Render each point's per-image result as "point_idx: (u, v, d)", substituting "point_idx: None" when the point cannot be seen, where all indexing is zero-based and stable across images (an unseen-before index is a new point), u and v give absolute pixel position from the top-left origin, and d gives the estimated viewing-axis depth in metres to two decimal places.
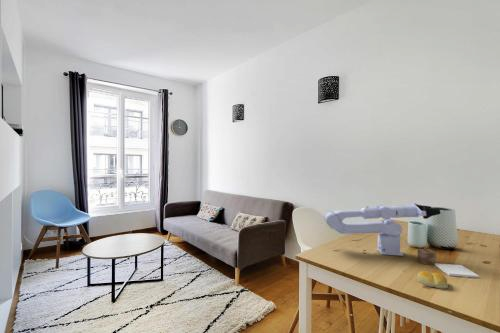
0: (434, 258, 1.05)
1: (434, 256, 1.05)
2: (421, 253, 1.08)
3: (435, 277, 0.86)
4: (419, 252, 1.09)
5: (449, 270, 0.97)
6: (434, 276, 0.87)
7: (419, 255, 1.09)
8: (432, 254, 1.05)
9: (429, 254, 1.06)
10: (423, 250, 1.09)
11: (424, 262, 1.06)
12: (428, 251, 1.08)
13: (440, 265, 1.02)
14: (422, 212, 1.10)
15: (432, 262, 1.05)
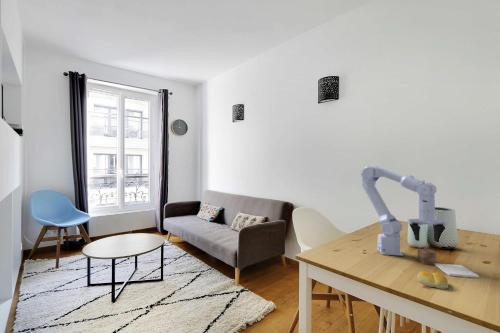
0: (434, 258, 1.05)
1: (434, 256, 1.05)
2: (421, 253, 1.08)
3: (435, 277, 0.86)
4: (419, 252, 1.09)
5: (449, 270, 0.97)
6: (435, 276, 0.87)
7: (419, 255, 1.09)
8: (432, 254, 1.05)
9: (429, 254, 1.06)
10: (423, 250, 1.09)
11: (424, 262, 1.06)
12: (428, 251, 1.08)
13: (440, 265, 1.02)
14: (409, 220, 1.09)
15: (432, 262, 1.05)
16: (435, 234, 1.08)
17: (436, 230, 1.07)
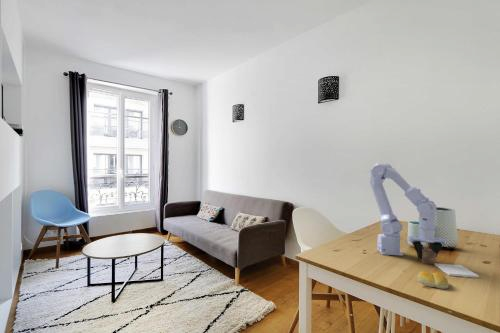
0: (434, 258, 1.05)
1: (434, 256, 1.05)
2: None
3: (435, 278, 0.86)
4: None
5: (449, 270, 0.97)
6: (435, 276, 0.87)
7: None
8: (432, 253, 1.05)
9: (429, 254, 1.06)
10: (423, 250, 1.09)
11: (424, 262, 1.06)
12: (428, 251, 1.08)
13: (440, 265, 1.02)
14: (409, 238, 1.09)
15: (432, 262, 1.05)
16: None
17: (433, 248, 1.07)
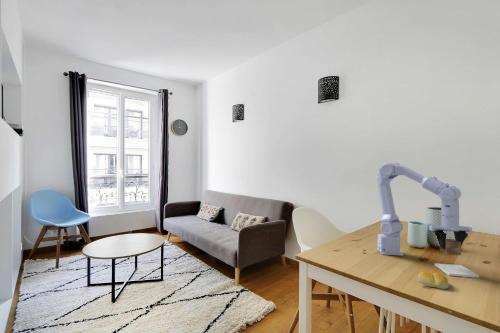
0: (459, 248, 0.97)
1: (459, 246, 0.97)
2: None
3: (435, 278, 0.86)
4: None
5: (449, 270, 0.97)
6: (435, 276, 0.87)
7: None
8: (457, 243, 0.98)
9: (453, 243, 0.98)
10: (446, 240, 1.01)
11: (448, 252, 0.98)
12: (451, 240, 1.00)
13: (440, 265, 1.02)
14: (431, 227, 1.01)
15: (457, 252, 0.97)
16: None
17: (458, 237, 0.99)
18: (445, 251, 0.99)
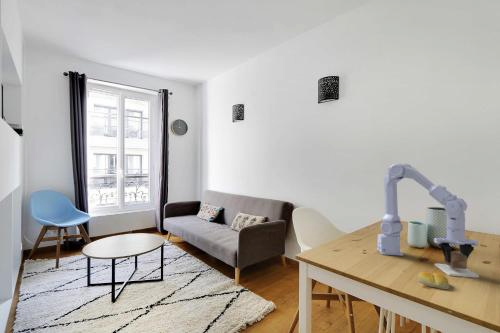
0: (465, 262, 0.96)
1: (465, 259, 0.96)
2: None
3: (436, 278, 0.86)
4: None
5: (449, 270, 0.97)
6: (435, 276, 0.87)
7: None
8: (462, 257, 0.96)
9: (459, 257, 0.96)
10: (452, 253, 0.99)
11: (453, 266, 0.96)
12: (457, 254, 0.98)
13: (440, 265, 1.02)
14: (436, 240, 0.99)
15: (462, 266, 0.96)
16: None
17: (463, 250, 0.98)
18: (450, 265, 0.97)
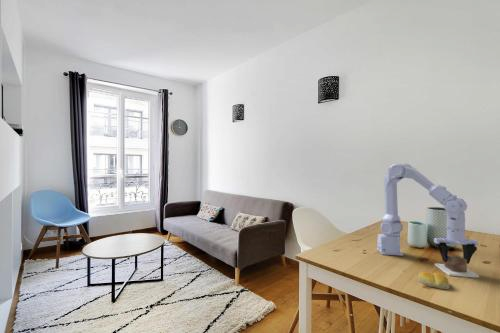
0: (465, 265, 0.96)
1: (465, 263, 0.96)
2: (450, 259, 0.98)
3: (436, 278, 0.86)
4: None
5: (449, 270, 0.97)
6: (435, 276, 0.87)
7: (447, 261, 1.00)
8: (462, 260, 0.96)
9: (459, 260, 0.96)
10: (451, 256, 0.99)
11: (453, 269, 0.96)
12: (457, 257, 0.98)
13: (440, 265, 1.02)
14: (436, 240, 0.99)
15: (462, 269, 0.96)
16: (465, 255, 0.98)
17: (466, 251, 0.97)
18: (450, 268, 0.97)
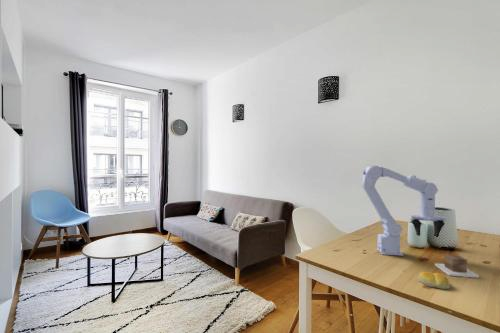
0: (465, 265, 0.96)
1: (465, 263, 0.96)
2: (450, 259, 0.98)
3: (436, 278, 0.86)
4: (447, 258, 1.00)
5: (449, 270, 0.97)
6: (436, 276, 0.87)
7: (447, 261, 1.00)
8: (462, 260, 0.96)
9: (459, 260, 0.96)
10: (451, 256, 0.99)
11: (453, 269, 0.96)
12: (457, 257, 0.98)
13: (440, 265, 1.02)
14: (411, 217, 1.17)
15: (462, 269, 0.96)
16: (435, 230, 1.16)
17: (436, 226, 1.15)
18: (450, 268, 0.97)
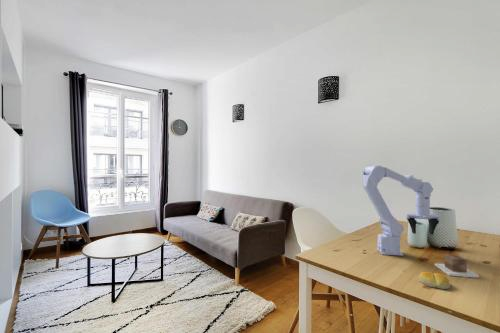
0: (465, 265, 0.96)
1: (465, 263, 0.96)
2: (450, 259, 0.98)
3: (436, 278, 0.86)
4: (447, 258, 1.00)
5: (449, 270, 0.97)
6: (436, 276, 0.87)
7: (447, 261, 1.00)
8: (462, 260, 0.96)
9: (459, 260, 0.96)
10: (451, 256, 0.99)
11: (453, 269, 0.96)
12: (457, 257, 0.98)
13: (440, 265, 1.02)
14: (407, 215, 1.20)
15: (462, 269, 0.96)
16: (430, 227, 1.19)
17: (431, 224, 1.19)
18: (450, 268, 0.97)
